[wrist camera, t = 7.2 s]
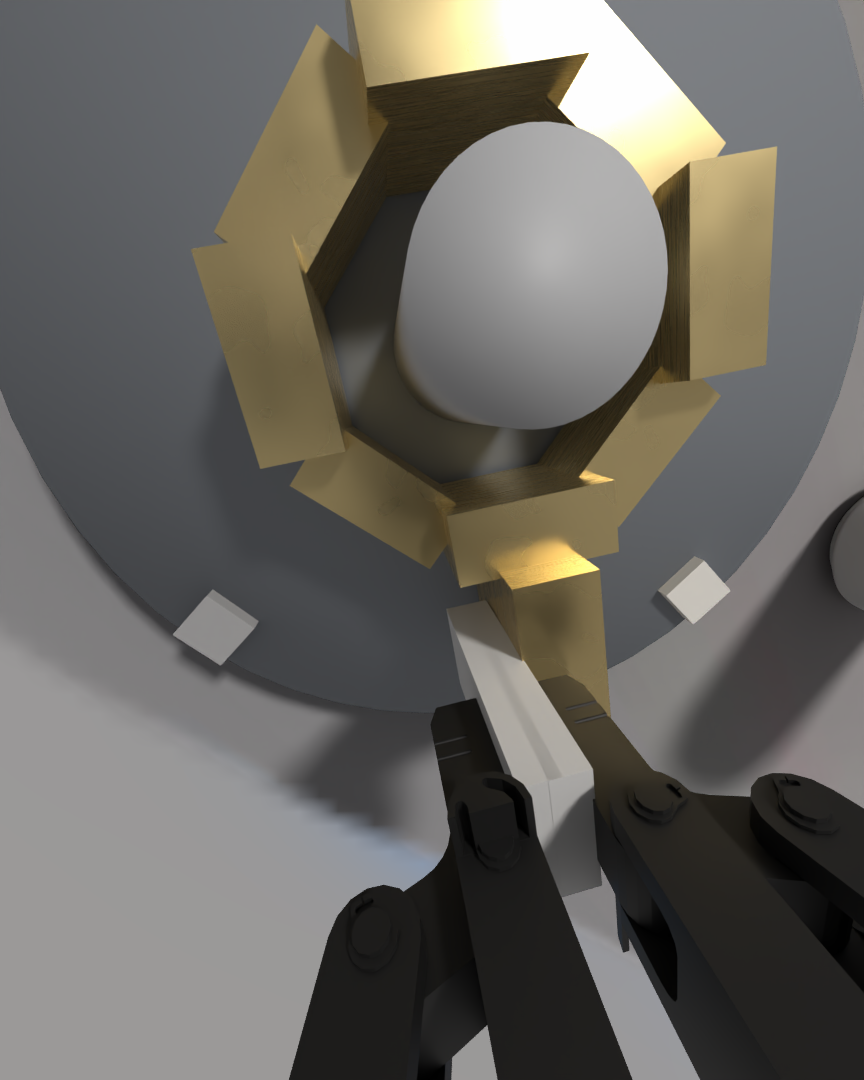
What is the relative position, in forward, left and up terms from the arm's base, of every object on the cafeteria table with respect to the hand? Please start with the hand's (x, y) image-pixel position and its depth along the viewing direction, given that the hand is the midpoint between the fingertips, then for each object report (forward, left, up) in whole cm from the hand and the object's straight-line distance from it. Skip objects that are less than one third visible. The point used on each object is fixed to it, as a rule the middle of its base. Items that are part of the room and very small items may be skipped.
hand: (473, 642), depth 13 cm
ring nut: (-5, -4, -2) cm, 7 cm away
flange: (-6, -6, -4) cm, 10 cm away
